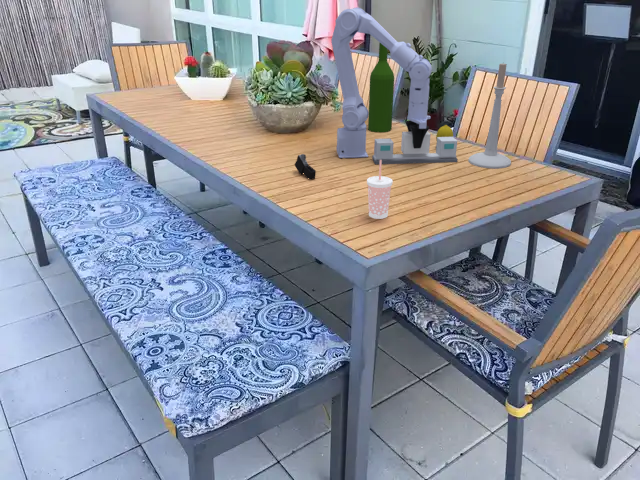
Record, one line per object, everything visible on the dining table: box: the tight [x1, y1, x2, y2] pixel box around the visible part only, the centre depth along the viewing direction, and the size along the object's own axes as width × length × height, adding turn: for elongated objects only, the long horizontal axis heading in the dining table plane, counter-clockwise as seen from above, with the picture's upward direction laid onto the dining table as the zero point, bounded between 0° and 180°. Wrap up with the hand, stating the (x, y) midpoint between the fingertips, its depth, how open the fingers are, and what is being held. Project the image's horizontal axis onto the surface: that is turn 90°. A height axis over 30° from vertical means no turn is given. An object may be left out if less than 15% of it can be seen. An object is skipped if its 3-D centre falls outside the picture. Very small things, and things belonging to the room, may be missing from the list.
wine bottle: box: [367, 42, 395, 133], centre depth 197 cm, size 9×9×32 cm
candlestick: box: [468, 63, 512, 170], centre depth 161 cm, size 13×13×30 cm
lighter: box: [294, 153, 317, 180], centre depth 156 cm, size 9×2×6 cm
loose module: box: [400, 130, 432, 154], centre depth 167 cm, size 4×8×6 cm, turn 95°
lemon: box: [435, 124, 454, 141], centre depth 179 cm, size 6×6×8 cm
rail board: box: [371, 136, 458, 165], centre depth 168 cm, size 26×6×7 cm, turn 94°
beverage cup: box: [366, 160, 394, 220], centre depth 127 cm, size 6×6×14 cm
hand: (415, 145), depth 167 cm, fingers closed on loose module, 4 cm apart
